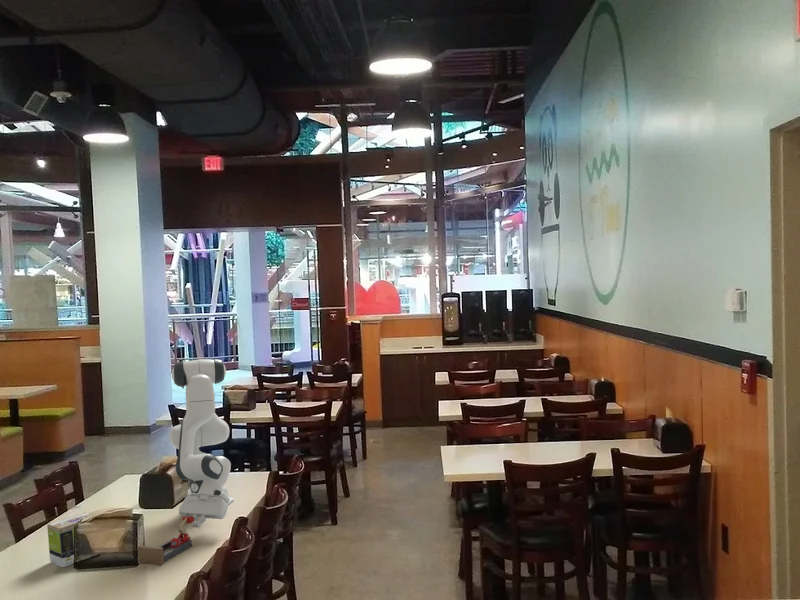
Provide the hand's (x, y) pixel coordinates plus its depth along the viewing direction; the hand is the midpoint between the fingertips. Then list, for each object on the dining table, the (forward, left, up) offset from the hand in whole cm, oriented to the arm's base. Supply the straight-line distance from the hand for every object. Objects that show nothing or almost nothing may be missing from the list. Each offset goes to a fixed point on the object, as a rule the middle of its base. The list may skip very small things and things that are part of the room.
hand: (195, 526), depth 282 cm
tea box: (+29, -32, -5) cm, 44 cm away
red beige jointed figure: (+8, 0, -5) cm, 9 cm away
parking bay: (+17, 0, -4) cm, 18 cm away
